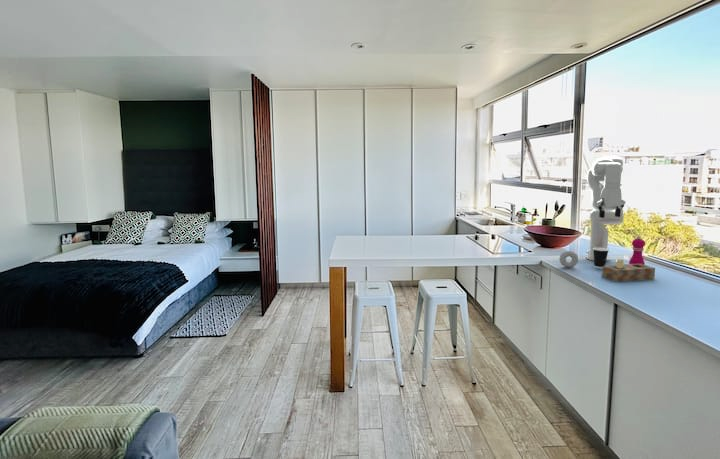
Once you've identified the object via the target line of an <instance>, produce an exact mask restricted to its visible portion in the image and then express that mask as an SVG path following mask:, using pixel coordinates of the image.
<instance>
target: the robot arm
mask: <svg viewBox="0 0 720 459" xmlns="http://www.w3.org/2000/svg"><path fill="white" fill-rule="evenodd" d="M623 166H624V162H623V159H622V158H621V156H601V157H599V158H597V159H596V160H595V161H594V162H593V163H592V166H591V168H590V169H588V171H587V174H586V181H587V184H588V187H589V189H590V191H591V192H590V194H591V205H592V208H593V209H592V210H591V212H590V214H589V218H590V234H589V235H590V238H589V249H588V250H587V251H586V252H585V253H586V254H587V255H586V257H587V258H586V257H585V258H586V259H587V260H590V261H594V250H593V248H607V249H608V243H609V242H608V241H609V230H608V229H607V227H605V225H614V226H615V225H617V226H618V225H621V224H623V223H624V206H625V204H626V202H627V201H626V200H623V199H622V188H621V187H622V183H621V180H622V179H621V177H622V173H623V171H624V170H623V169H624V168H623ZM602 182H604V184H603V183H602ZM608 261H610V257H608V256H607V259H606V262H608Z"/></svg>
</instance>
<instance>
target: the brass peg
mask: <svg viewBox="0 0 720 459" xmlns="http://www.w3.org/2000/svg"><path fill="white" fill-rule="evenodd" d="M615 263H616V264H615V265H616V268H618V269H623V264H624V259H619V258H618V259H616V262H615Z"/></svg>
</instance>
